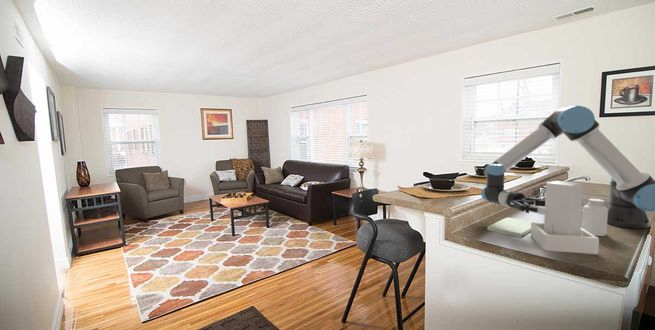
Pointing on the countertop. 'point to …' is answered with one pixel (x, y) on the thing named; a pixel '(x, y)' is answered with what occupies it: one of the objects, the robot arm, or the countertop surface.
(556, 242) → the tray
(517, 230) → the cutting board
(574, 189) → the tall white carton
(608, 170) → the robot arm
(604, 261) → the countertop surface
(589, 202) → the pill bottle
